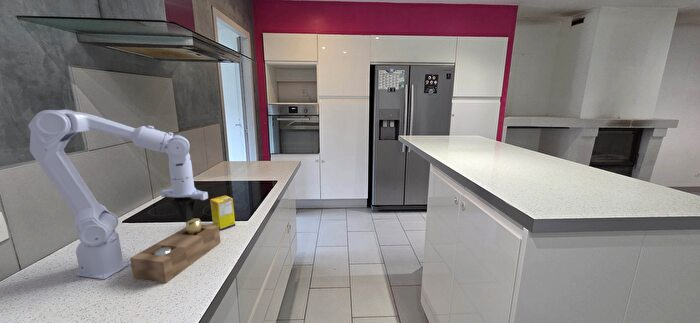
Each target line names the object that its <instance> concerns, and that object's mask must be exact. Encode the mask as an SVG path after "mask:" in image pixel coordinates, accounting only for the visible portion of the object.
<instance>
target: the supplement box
mask: <svg viewBox="0 0 700 323" xmlns="http://www.w3.org/2000/svg"><path fill="white" fill-rule="evenodd" d="M209 202H210V210H211V219H212V225H214V226H219V232H220V231H223V230H226V229H229V228H231V227H235V226H236V220H235V219H236V218H235V208H234V199H233V198H232V197H230V196H228V195H221V196H217V197H215V198H214V197H213V198H211V199H210V200H209Z"/></svg>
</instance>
